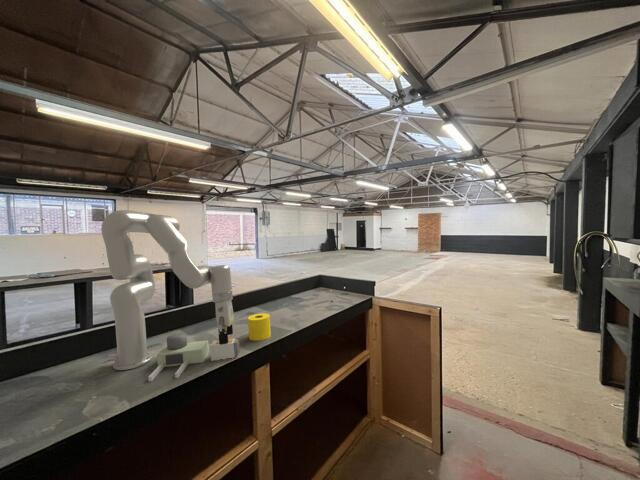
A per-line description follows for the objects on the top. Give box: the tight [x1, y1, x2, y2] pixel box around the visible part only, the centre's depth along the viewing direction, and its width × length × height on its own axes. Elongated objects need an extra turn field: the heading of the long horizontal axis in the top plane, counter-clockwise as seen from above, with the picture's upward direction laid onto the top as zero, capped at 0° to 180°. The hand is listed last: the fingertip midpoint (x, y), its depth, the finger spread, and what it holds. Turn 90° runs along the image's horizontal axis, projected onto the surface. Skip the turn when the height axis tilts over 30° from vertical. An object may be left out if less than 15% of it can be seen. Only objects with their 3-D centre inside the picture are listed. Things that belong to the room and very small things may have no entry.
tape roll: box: [247, 313, 272, 342], centre depth 126 cm, size 10×10×9 cm
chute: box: [209, 337, 241, 362], centre depth 107 cm, size 10×5×6 cm, turn 98°
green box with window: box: [147, 332, 210, 382], centre depth 101 cm, size 16×20×9 cm
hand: (226, 338), depth 107 cm, fingers open, 9 cm apart
